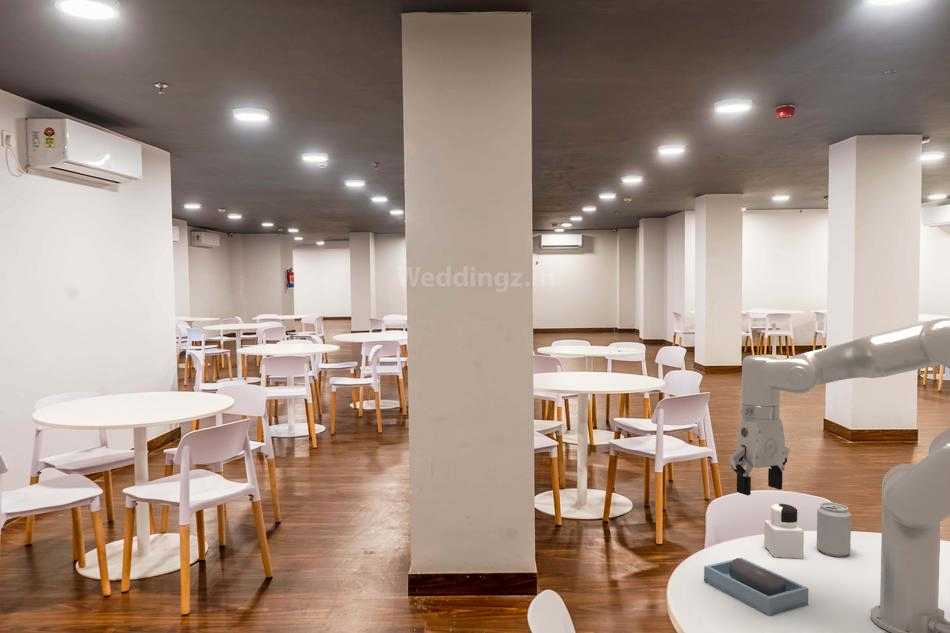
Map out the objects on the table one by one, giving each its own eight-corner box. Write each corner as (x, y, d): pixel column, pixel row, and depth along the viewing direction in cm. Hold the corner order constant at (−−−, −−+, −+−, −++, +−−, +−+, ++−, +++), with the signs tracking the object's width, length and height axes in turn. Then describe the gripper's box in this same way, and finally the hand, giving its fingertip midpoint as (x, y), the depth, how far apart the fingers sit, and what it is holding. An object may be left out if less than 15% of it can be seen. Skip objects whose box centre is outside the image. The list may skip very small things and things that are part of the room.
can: (809, 549, 166) (810, 503, 166) (829, 544, 169) (830, 499, 169) (837, 560, 159) (838, 511, 159) (857, 555, 162) (858, 507, 162)
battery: (784, 599, 136) (787, 576, 137) (768, 600, 134) (771, 577, 135) (739, 577, 147) (742, 556, 147) (724, 578, 145) (726, 556, 145)
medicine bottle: (792, 548, 167) (793, 502, 166) (803, 559, 160) (804, 511, 159) (763, 546, 167) (764, 500, 167) (773, 557, 160) (774, 509, 160)
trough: (808, 604, 136) (808, 588, 136) (768, 615, 131) (769, 598, 131) (741, 572, 152) (741, 557, 151) (704, 581, 147) (704, 566, 147)
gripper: (746, 418, 133) (745, 501, 133) (802, 412, 141) (801, 490, 141) (717, 412, 140) (717, 491, 140) (773, 407, 147) (772, 481, 148)
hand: (759, 490), depth 141 cm, fingers open, 9 cm apart
